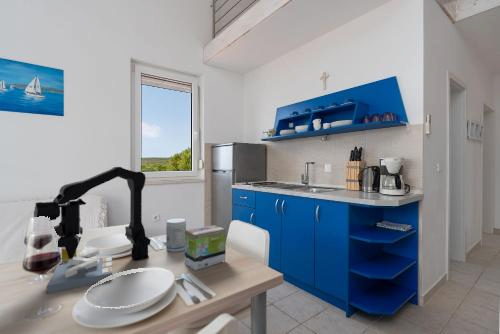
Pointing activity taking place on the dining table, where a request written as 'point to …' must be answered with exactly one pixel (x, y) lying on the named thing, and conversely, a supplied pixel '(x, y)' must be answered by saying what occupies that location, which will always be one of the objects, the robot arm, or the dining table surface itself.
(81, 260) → the rocker
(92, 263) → the rocker
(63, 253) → the supplement bottle
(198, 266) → the tea box
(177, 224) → the supplement tub
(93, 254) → the rocker
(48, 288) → the switch panel
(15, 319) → the dining table surface
